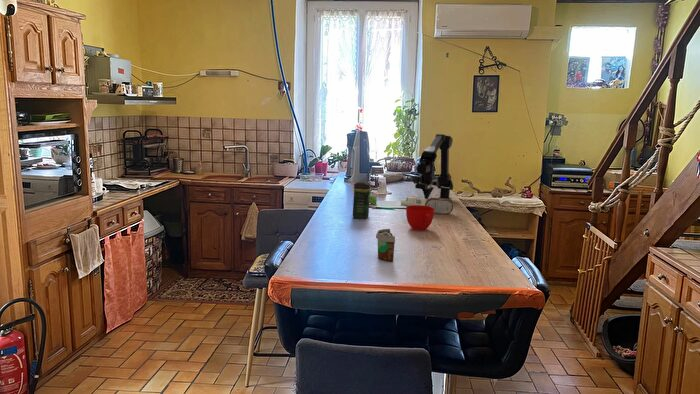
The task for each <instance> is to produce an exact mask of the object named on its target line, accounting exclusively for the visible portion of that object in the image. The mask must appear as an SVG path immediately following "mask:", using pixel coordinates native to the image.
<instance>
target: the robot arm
mask: <svg viewBox="0 0 700 394" xmlns="http://www.w3.org/2000/svg"><path fill="white" fill-rule="evenodd" d="M453 139H454V138H453V137H452V136H451V135H446V134H445V133H436V134H435V136H434V139H433V141H432V142H431V144H430V145H429V146H428V147H425V149H424V150H423V151H422V153H421V155H420V158H419V164H418V165H417V166H416V173H418V174H419V175H420V176H417V175H415V176H412V180H411V181H412V182H413V184H414V185H415V187H414V189H419V190H422V192H423V198H426V199H428V198H430V196H431V194H432V192H433V190H434V189H435V187H437V189H438V190H439V189H440V191H439V197H437V198H445V199H449V200H452V197H450V192H451V191H454V190H453V189H454V184H453V180H452V175H451V174H450V172H449V169H450V167H449V166H450V162H449V161H450V160H449V159H450V148H451V147H452V146H453ZM439 150H440V174H439V175H438V177H437V180H434V177H435V174H434V165H435V161H436V160H437V157H438V155H437V151H439ZM433 186H434V187H433Z"/></svg>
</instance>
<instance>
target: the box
mask: <svg viewBox="0 0 700 394" xmlns="http://www.w3.org/2000/svg"><path fill="white" fill-rule="evenodd" d="M417 202H418V203H417ZM420 203H421V202H420ZM420 203H419V201H416V203H412V202H408V199H407V198H406V199H404V200H401V201H400V205H401V204H402V205H401V206H405V205H407V206H412V205H421V206H425V205H424V204H420ZM407 206H406V207H407Z"/></svg>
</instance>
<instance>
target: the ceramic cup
mask: <svg viewBox="0 0 700 394" xmlns="http://www.w3.org/2000/svg"><path fill="white" fill-rule="evenodd" d="M405 207H406V208H405V209H406V210H405V211H406V213H405V216H406V220H407V223H408V224H409V226H410V228H411V229H412V230H413V231H426V230H427V229H428V228H429V227H430V226H431V224H432V223H433V219H434V215H435V214H434V208H432V207H429V206H421V205H412V206H405Z"/></svg>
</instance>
